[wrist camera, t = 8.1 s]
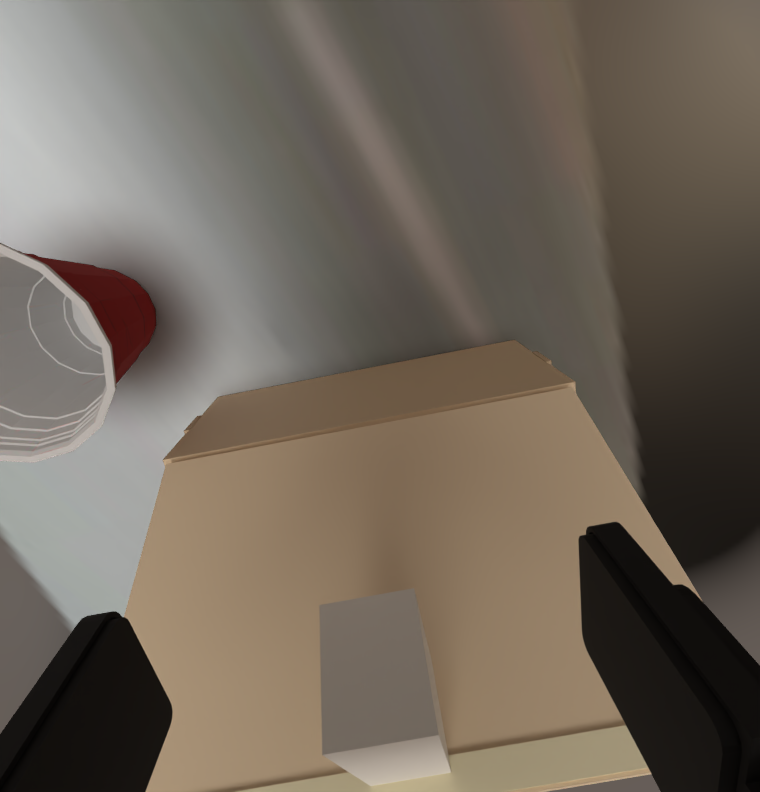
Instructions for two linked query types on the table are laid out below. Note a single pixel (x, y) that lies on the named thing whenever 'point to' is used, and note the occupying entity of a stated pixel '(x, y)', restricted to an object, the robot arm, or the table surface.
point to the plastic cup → (63, 350)
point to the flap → (389, 607)
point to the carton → (368, 398)
